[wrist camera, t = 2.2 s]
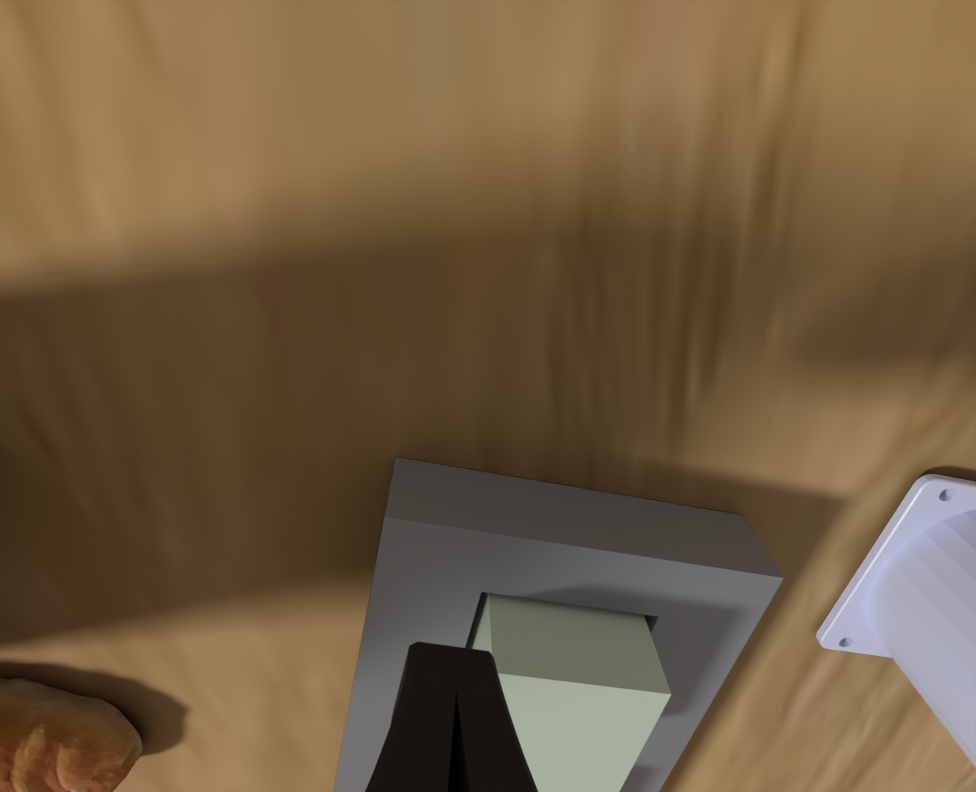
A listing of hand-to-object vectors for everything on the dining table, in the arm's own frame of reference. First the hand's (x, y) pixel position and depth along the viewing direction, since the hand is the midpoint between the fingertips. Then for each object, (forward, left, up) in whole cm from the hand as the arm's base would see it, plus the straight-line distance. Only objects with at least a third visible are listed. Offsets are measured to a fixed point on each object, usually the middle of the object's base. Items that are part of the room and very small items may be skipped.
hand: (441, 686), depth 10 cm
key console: (-5, +15, -9) cm, 18 cm away
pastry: (+15, +17, -10) cm, 25 cm away
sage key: (-5, +7, -8) cm, 11 cm away
